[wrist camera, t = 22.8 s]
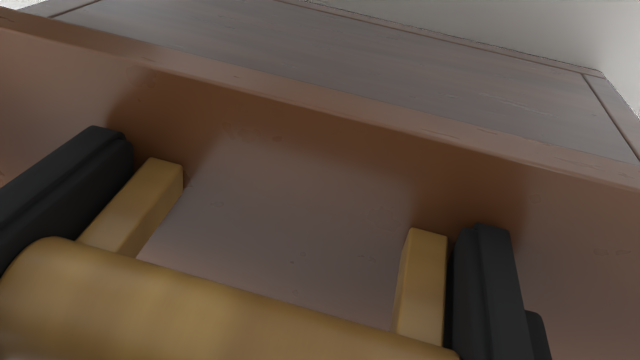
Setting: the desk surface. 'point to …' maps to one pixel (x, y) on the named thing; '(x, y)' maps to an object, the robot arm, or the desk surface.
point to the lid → (290, 215)
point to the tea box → (381, 65)
